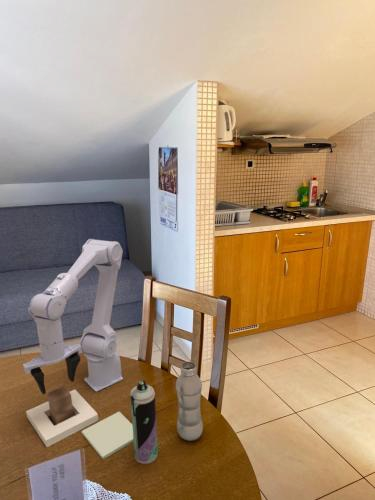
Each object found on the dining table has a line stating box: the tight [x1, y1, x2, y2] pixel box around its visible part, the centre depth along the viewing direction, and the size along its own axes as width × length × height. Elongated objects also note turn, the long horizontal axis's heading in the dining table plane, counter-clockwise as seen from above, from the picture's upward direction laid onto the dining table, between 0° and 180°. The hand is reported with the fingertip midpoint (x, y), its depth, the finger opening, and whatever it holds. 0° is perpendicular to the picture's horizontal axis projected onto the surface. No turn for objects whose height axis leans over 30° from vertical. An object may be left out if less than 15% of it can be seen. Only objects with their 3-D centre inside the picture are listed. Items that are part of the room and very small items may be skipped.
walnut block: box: [47, 386, 75, 425], centre depth 104 cm, size 4×4×8 cm
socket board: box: [25, 389, 99, 448], centre depth 105 cm, size 14×14×2 cm
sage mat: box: [81, 411, 134, 460], centre depth 99 cm, size 11×11×1 cm
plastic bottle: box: [175, 361, 204, 442], centre depth 96 cm, size 6×7×20 cm
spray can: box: [129, 380, 159, 465], centre depth 90 cm, size 6×6×20 cm
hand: (57, 385), depth 102 cm, fingers open, 7 cm apart
